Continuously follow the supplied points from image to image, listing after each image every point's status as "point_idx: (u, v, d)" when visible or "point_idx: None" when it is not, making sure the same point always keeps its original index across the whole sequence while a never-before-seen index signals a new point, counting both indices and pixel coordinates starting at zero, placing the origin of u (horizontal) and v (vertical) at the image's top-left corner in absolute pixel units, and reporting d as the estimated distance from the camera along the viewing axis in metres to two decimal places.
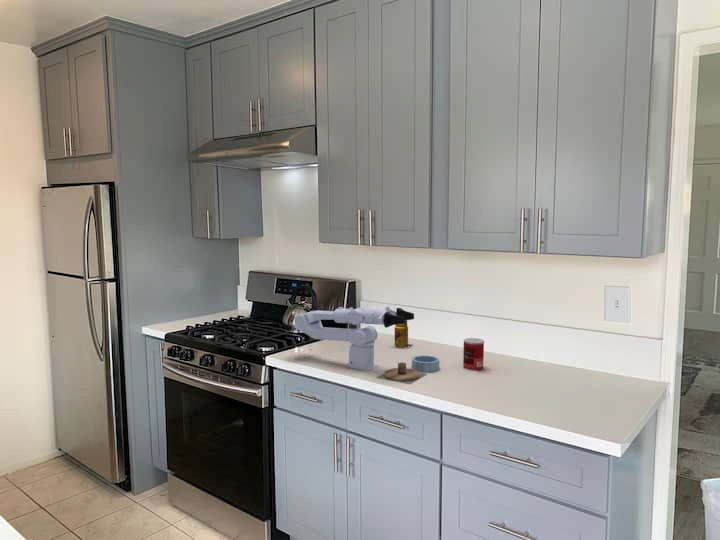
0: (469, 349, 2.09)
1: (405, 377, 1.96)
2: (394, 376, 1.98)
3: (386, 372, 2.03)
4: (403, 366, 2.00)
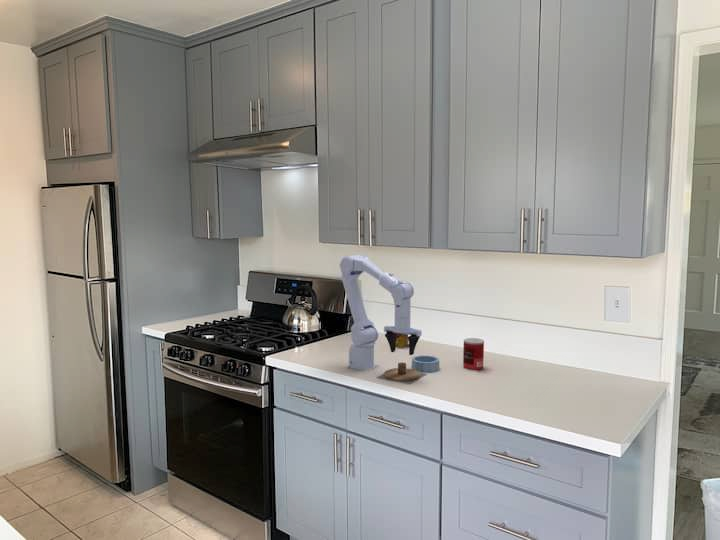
0: (469, 349, 2.09)
1: (405, 377, 1.96)
2: (394, 376, 1.98)
3: (386, 372, 2.03)
4: (403, 366, 2.00)
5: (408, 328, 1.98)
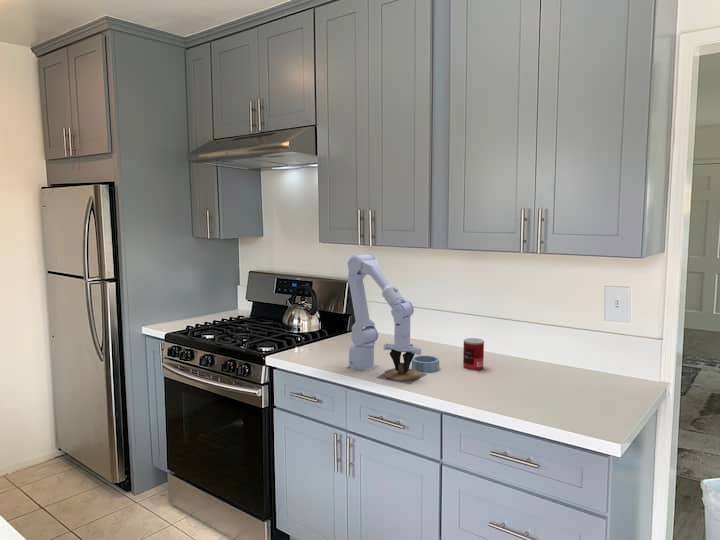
0: (469, 349, 2.09)
1: (405, 377, 1.96)
2: (394, 376, 1.98)
3: (386, 372, 2.03)
4: (403, 366, 2.00)
5: (408, 346, 1.99)
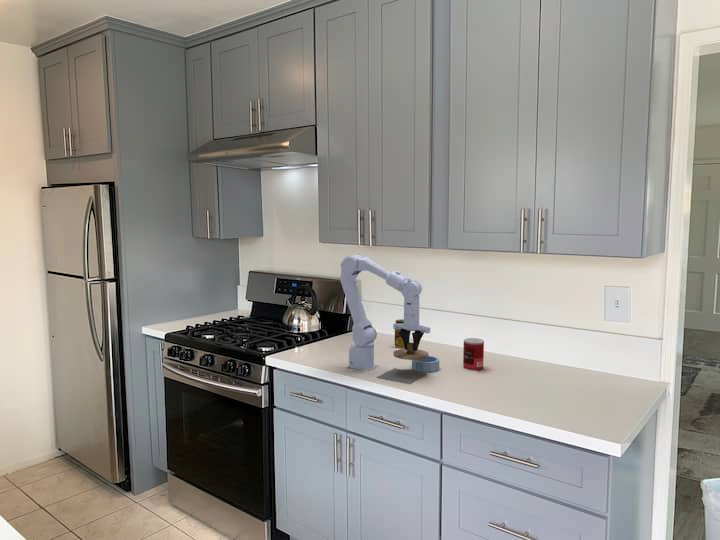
0: (469, 349, 2.09)
1: (414, 356, 1.99)
2: (403, 355, 2.01)
3: (395, 352, 2.05)
4: (412, 345, 2.03)
5: (417, 325, 2.01)
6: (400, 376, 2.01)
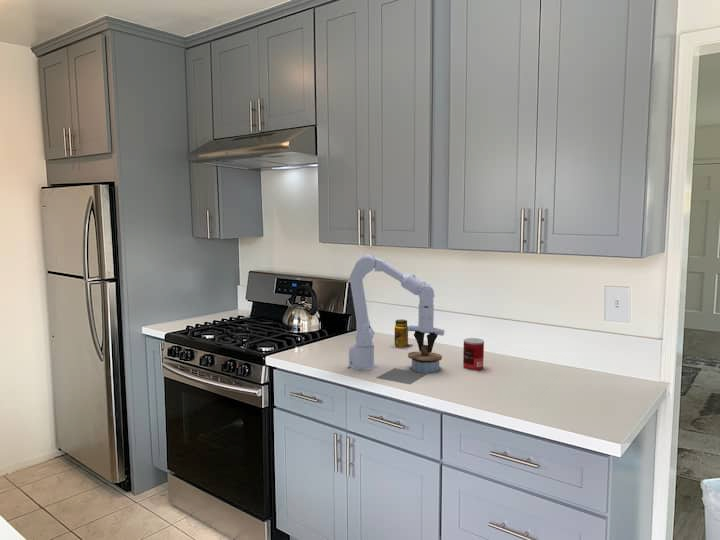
0: (469, 349, 2.09)
1: (429, 357, 2.05)
2: (418, 356, 2.07)
3: (409, 353, 2.11)
4: (426, 347, 2.09)
5: (431, 327, 2.08)
6: (400, 376, 2.01)
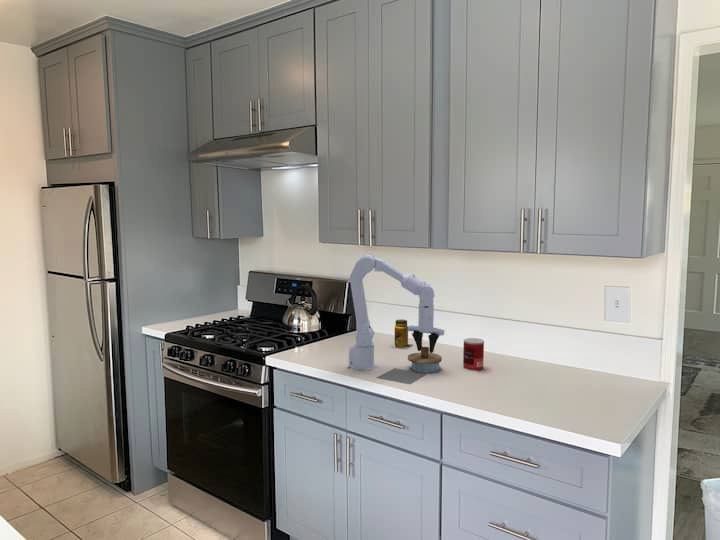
0: (469, 349, 2.09)
1: (428, 360, 2.05)
2: (417, 359, 2.07)
3: (409, 356, 2.11)
4: (426, 350, 2.09)
5: (431, 327, 2.08)
6: (400, 376, 2.01)
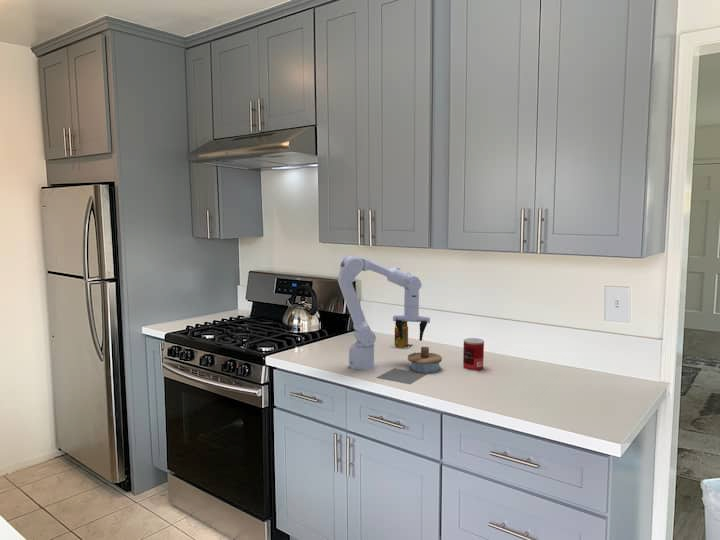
0: (469, 349, 2.09)
1: (428, 360, 2.05)
2: (417, 359, 2.07)
3: (409, 356, 2.11)
4: (426, 350, 2.09)
5: (418, 316, 2.15)
6: (400, 376, 2.01)
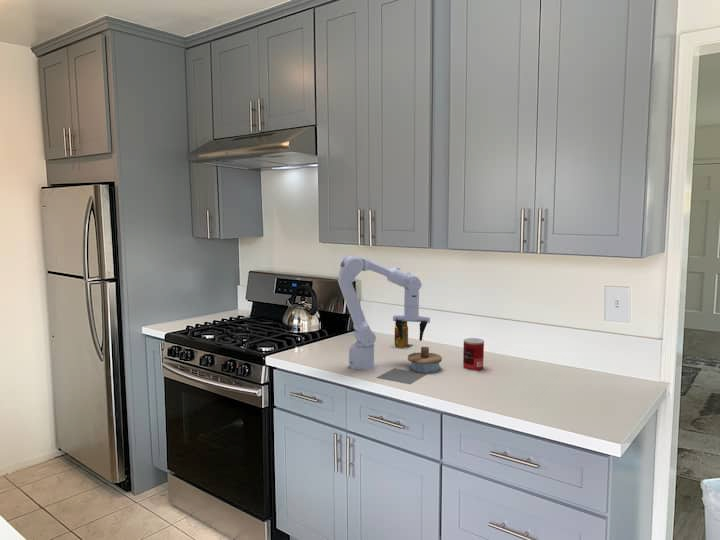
0: (469, 349, 2.09)
1: (428, 360, 2.05)
2: (417, 359, 2.07)
3: (409, 356, 2.11)
4: (426, 350, 2.09)
5: (418, 316, 2.15)
6: (400, 376, 2.01)
